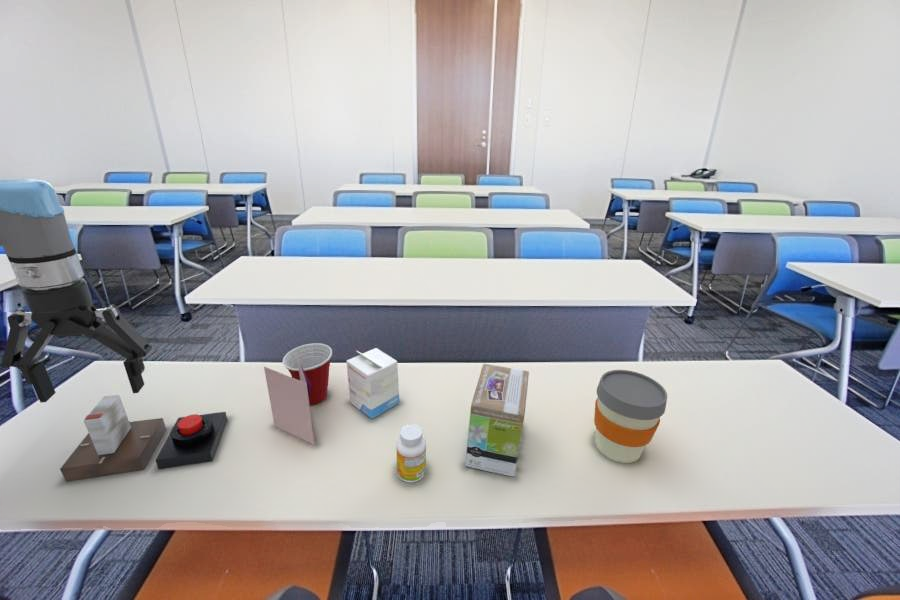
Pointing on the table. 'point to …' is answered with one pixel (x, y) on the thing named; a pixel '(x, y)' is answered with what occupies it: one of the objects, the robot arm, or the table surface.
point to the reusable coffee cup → (627, 414)
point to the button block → (193, 443)
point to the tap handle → (107, 424)
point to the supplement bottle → (411, 454)
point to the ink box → (373, 382)
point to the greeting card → (290, 403)
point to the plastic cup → (311, 368)
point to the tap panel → (116, 453)
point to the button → (190, 424)
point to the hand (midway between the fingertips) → (94, 393)
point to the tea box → (497, 419)
